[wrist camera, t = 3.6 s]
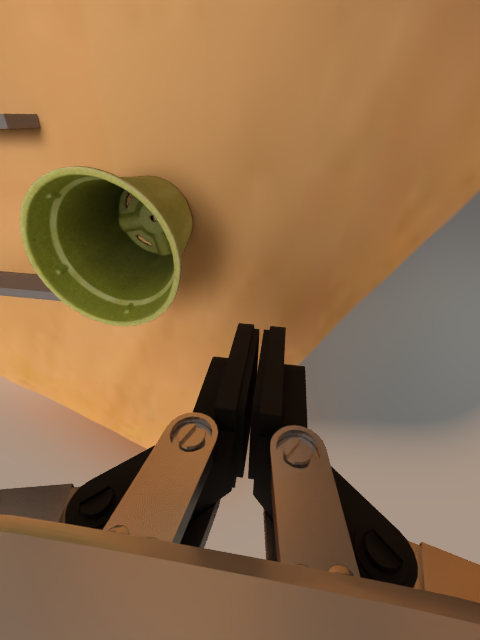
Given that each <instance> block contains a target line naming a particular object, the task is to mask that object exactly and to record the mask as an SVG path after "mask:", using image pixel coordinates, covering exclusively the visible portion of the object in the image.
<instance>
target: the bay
mask: <svg viewBox="0 0 480 640" xmlns="http://www.w3.org/2000/svg"><path fill="white" fill-rule="evenodd" d="M18 128H40V124H39V121H38V118H37V114H0V129H18ZM0 295H3V296H13V297H24V298H35V299H45V300H56V301H61V300H60V299H59V298H58V297H57V296H56V295H55V294H54V293H53V292H52V291H51V290H50V289H49V288H48V287H47V286H46V285H45V284H44V283H43V281H42V280H41V279H40V277H39V276H38V275H37V274H25V273H13V272H1V271H0Z"/></svg>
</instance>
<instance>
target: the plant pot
mask: <svg viewBox="0 0 480 640" xmlns="http://www.w3.org/2000/svg"><path fill="white" fill-rule="evenodd" d="M129 193H131V194H132V195H133V197H132V199H131V200H130V203H129V205H128V208H126V205H125V202H126V197H127V196H128V194H129ZM152 215H154V216H155V218H156V219H157V220H156V221H155V222H153V221H152V220H151V218H150V217H151V216H152ZM192 225H193V221H192V216H191V212H190V209H189V206H188V203H187V201H186V199H185V197H184V196H183V194H182V193H181V192H180V191H179V190H178V189H177V188H176V187H175V186H174V185H172V184H171V183H169V182H168V181H166V180H164V179H161V178H159V177H155V176H137V177H118V176H116V175H114V174H112V173H109V172H106V171H103V170H100V169H96V168H91V167H82V166H74V167H64V168H60V169H56V170H53V171H50V172H48V173H46V174H44V175H42V176H41V177H40V178H38V179H37V180H36V181H35V182H34V183H33V184H32V186H31V187H30V188H29V190H28V192H27V193H26V195H25V197H24V200H23V203H22V206H21V215H20V231H21V236H22V240H23V244H24V248H25V251H26V254H27V256H28V258H29V260H30V263H31V264H32V266H33V268H34V270H35V271H36V273H37V275H38V276H39V277H40V279H41V280H42V281H43V283H44V284H45V285H46V286H47V287H48V288H49V289H50V290H51V291H52V292H53V293H54V294H55V295H56V296H57V297H58V298H59V299H60V300H61V301H62V302H63V303H65V304H66V305H67V306H69V307H70V308H72V309H73V310H75V311H77V312H79V313H80V314H82V315H84V316H86V317H88V318H90V319H92V320H96V321H99V322H101V323H104V324H109V325H114V326H136V325H140V324H144V323H147V322H150V321H152V320H154V319H156V318H157V317H159V316H160V315H161V314H163V313H164V312H165V311H166V310H167V308H168V307H169V306H170V305H171V303H172V301H173V300H174V298H175V295H176V293H177V290H178V287H179V283H180V278H181V256H182V254H183V251H184V249H185V247H186V245H187V243H188V240H189V237H190V235H191V231H192ZM137 235H140V236H141V237H142V238H143V239H145V240H146V241H148V242H150V243H151V244H152V245H151V246H148V245H147V244H145V243H143V242H141V241H140V240H139V239H138V238H137Z"/></svg>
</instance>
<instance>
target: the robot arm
mask: <svg viewBox="0 0 480 640" xmlns="http://www.w3.org/2000/svg"><path fill="white" fill-rule="evenodd" d="M285 331H286V328H285V327H274V326H270V330H264V333H263V340H262V346H261V353H260V359H259V365H258V348H259V329H254V325H252V324H242V323H239V324H238V327H237V331H236V334H235V337H234V341H233V344H232V348H231V351H230V355H229V358H222V357H213V358H212V361H211V363H210V366H209V369H208V372H207V374H206V377H205V380H204V383H203V385H202V388H201V391H200V394H199V397H198V399H197V402H196V405H195V408H194V410H193V413H186V414H183V415H180V416H178V417H177V418H175V419H174V420H172V421H171V422H170V424H169V425H168V426H167V427H166V429H165V431H164V432H163V434H162V435H161V437H160V439H159V440H158V442H157V443H156V445H155V446H153V447H151V448H149V449H147V450H145V451H144V452H142V453H140V454H138V455H136V456H134V457H133V458H131V459H129V460H127V461H125V462H123V463H121V464H119V465H118V466H116V467H114V468H112V469H110V470H108V471H107V472H105V473H103V474H101V475H99V476H97V477H95V478H94V479H92V480H90V481H88V482H87V483H86V484H84V485H83V486H81V487H74V486H73V484H63V485H50V486H38V487H26V488H13V489H1V490H0V640H480V565H479V564H476V563H473V562H471V561H468V560H466V559H463V558H461V557H458V556H456V555H453V554H451V553H448V552H446V551H443V550H441V549H438V548H436V547H433V546H431V545H428V544H426V543H423V542H421V543H420V545H417V544H415V543H412V542H410V541H407V539H406V538H405V537H404V536H403V535H402V534H401V532H400V531H399V530H398V529H397V528H396V527H394V525H392V524H391V523H390V522H389V521H388V520H387V519H386V518H385V517H384V516H383V515H382V514H381V513H380V512H379V511H378V510H376V508H375V507H374V506H372V505H371V504H370V503H369V502H368V501H367V500H366V499H365V498H364V497H363V496H362V495H361V494H360V493H359V492H358V491H357V490H355V489H354V488H353V487H352V486H351V485H350V484H349V483H348V482H347V481H346V480H345V479H344V478H343V477H342V476H341V475H340V474H338V472H337V471H335V469H333V468H332V467H331V465H330V462H329V458H328V454H327V450H326V447H325V445H324V443H323V441H322V440H321V438H320V437H319V436H318V435H317V434H316V433H314V432H313V431H312V430H310V429H308V428H307V408H306V407H307V406H306V383H305V382H306V380H305V367H304V366H296V365H287V364H284V351H285ZM257 365H258V372H257ZM250 427H251V430H250ZM249 434H250V452H249V472H248V478H249V479H254V488H253V495H254V496H255V498H256V499H257V500H258V502H259V503H260V504H261V505H262V506H263V508H264V513H263V515H264V532H265V548H266V560H264V559H259V558H253V557H248V556H243V555H237V554H232V553H226V552H221V551H215V550H210V549H204V547H205V544H206V541H207V539H208V536H209V533H210V530H211V527H212V524H213V521H214V518H215V516H216V513H217V510H218V507H219V504H220V499H221V498H222V497H223V496H225V495H226V494H228V493H229V492H231V490H232V487H233V488H234V487H235V483H236V477H243V474H244V467H245V460H246V454H247V447H248V440H249Z"/></svg>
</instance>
